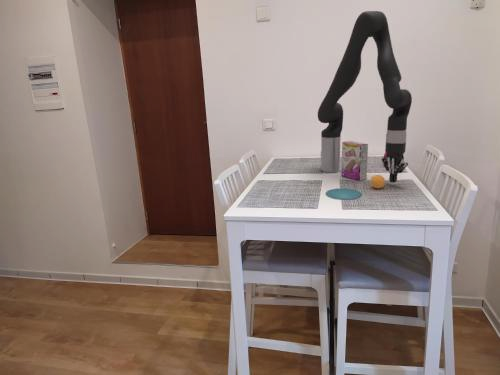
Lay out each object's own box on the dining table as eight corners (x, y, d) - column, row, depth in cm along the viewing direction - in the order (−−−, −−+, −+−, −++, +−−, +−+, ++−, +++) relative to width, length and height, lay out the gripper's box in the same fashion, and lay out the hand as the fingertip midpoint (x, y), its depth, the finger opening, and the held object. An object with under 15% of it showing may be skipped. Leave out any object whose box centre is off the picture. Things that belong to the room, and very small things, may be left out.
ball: (367, 187, 140) (367, 174, 139) (378, 185, 142) (379, 172, 140) (376, 191, 135) (376, 177, 134) (387, 189, 137) (388, 175, 135)
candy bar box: (340, 176, 159) (341, 141, 154) (348, 174, 161) (349, 140, 157) (359, 181, 150) (360, 144, 145) (367, 179, 152) (368, 143, 147)
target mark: (319, 191, 139) (319, 191, 139) (348, 186, 143) (348, 186, 143) (337, 201, 126) (337, 201, 126) (369, 196, 130) (369, 195, 130)
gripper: (377, 139, 141) (375, 179, 146) (400, 144, 129) (397, 187, 134) (391, 137, 143) (389, 177, 148) (415, 142, 131) (412, 184, 136)
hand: (393, 182), depth 141 cm, fingers closed
